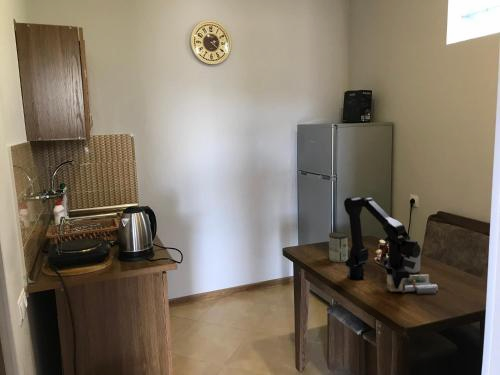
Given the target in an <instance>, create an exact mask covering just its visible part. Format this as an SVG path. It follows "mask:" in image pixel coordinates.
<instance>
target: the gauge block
mask: <svg viewBox="0 0 500 375" xmlns="http://www.w3.org/2000/svg"><path fill="white" fill-rule="evenodd" d="M386 274H387V273H386ZM402 284H403V278H402V280H401V282H400V285H399V288H398V289H396V288H395V286H394V283H393V280H392V277H391V274H387V275H386V288H388V290H389V291H390V292H401V291H402Z"/></svg>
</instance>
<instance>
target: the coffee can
mask: <svg viewBox="0 0 500 375" xmlns="http://www.w3.org/2000/svg"><path fill="white" fill-rule="evenodd" d="M348 237H349V233H347V232H345V231H344V232H343V231H333V232H329V233H328V248H329V249H328V256H329V257H328V259H329V260H330V261H331V262H335V263H343V262H344V263H345V261H346V260H348V259H349V257H348V256H349V254H348V253H349V251H348V250H349V246H348V245H349V244H348V243H349V238H348Z"/></svg>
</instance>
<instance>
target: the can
mask: <svg viewBox="0 0 500 375" xmlns="http://www.w3.org/2000/svg"><path fill="white" fill-rule="evenodd" d="M410 259H412V260H414V261H415V262H416V264H415V267H414V269H411V268H409V267H406V266H405V268H403V269H406V270H407V271H408V272H409V273H410V274H417V273H419V272H420V270H421V252H420V255H419V256H418V257H417V258H414V257H410Z"/></svg>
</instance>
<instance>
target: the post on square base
mask: <svg viewBox="0 0 500 375" xmlns="http://www.w3.org/2000/svg"><path fill="white" fill-rule="evenodd" d="M430 286H435V287H436V291H439V290H438V289H439V286H438V285H437V284H436V283H431V284H425V285H415V280H413V285H405V283H404V282H403V284H402V291H400V293H402V294H405V293H406V292H416V287H430Z"/></svg>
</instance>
